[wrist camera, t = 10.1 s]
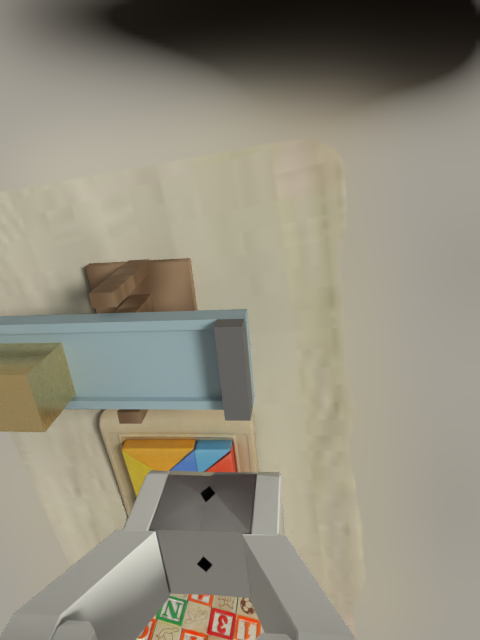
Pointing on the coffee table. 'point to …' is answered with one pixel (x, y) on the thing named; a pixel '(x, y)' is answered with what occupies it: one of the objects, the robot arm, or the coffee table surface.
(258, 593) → the robot arm
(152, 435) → the wooden puzzle
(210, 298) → the coffee table surface
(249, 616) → the stack of blocks
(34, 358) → the block
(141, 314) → the beam
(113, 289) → the pivot stand
